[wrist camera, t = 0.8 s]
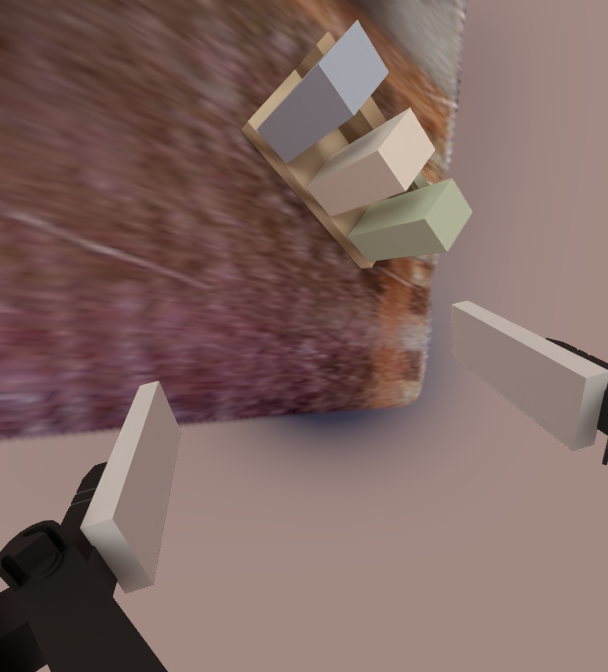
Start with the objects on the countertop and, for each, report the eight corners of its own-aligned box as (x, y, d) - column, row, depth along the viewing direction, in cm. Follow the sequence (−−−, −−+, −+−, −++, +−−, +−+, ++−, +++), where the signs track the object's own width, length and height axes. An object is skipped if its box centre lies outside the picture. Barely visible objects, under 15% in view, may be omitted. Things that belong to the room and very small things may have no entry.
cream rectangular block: (305, 187, 37) (377, 150, 27) (332, 154, 38) (410, 107, 28) (330, 216, 38) (405, 191, 29) (354, 184, 39) (435, 149, 30)
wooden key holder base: (240, 130, 35) (266, 99, 29) (296, 67, 37) (330, 28, 32) (360, 268, 44) (398, 264, 38) (400, 211, 46) (441, 200, 41)
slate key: (256, 129, 33) (318, 63, 24) (287, 95, 35) (357, 19, 25) (285, 164, 35) (353, 115, 26) (313, 130, 36) (389, 72, 27)
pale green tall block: (347, 236, 40) (424, 218, 30) (370, 205, 41) (452, 177, 31) (368, 261, 41) (447, 251, 32) (389, 230, 43) (472, 212, 33)
